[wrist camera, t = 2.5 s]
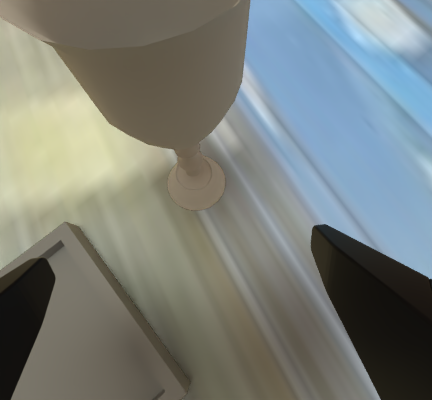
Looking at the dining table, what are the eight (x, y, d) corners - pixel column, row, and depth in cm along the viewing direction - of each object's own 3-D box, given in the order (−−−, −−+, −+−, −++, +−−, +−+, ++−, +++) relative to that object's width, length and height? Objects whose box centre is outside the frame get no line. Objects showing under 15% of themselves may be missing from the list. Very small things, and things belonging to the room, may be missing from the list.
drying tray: (190, 382, 20) (186, 393, 18) (-8, 570, 17) (-38, 607, 15) (78, 226, 23) (65, 221, 21) (-103, 364, 21) (-137, 373, 19)
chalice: (175, 236, 23) (26, 103, 5) (142, 169, 24) (-53, -97, 7) (252, 196, 24) (338, -34, 6) (215, 133, 25) (200, -184, 8)
